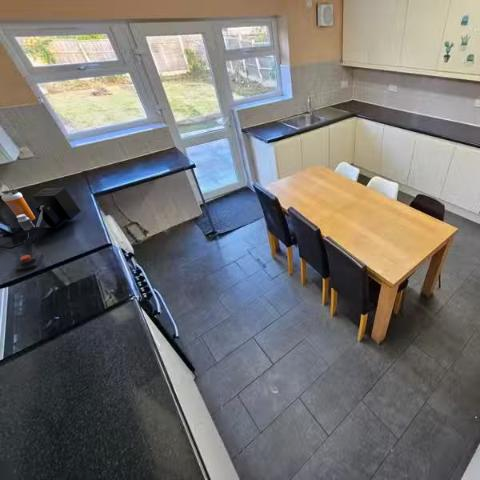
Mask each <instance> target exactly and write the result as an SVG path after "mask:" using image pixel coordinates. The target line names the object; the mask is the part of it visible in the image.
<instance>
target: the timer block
mask: <svg viewBox="0 0 480 480" xmlns="http://www.w3.org/2000/svg"><path fill="white" fill-rule="evenodd" d="M29 255H30V257H31V259H30V260H28V261H25V262H23V261H22V260H21V259H19V260H18V266H17V267H16V268H15V271H16V272H21V271H27V270H30V269H36V268H38V267H39V265H40V264H41V263H42V261H43V260H44V257H45V256H44V255H43V254H42V253H37V254H29Z"/></svg>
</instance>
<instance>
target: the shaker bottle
mask: <svg viewBox="0 0 480 480" xmlns="http://www.w3.org/2000/svg"><path fill="white" fill-rule="evenodd" d="M1 194H2V195H1V200H2V201H3V202H4V204H6V205H7V206H8V208H9V209H10V210H11V211H12V213H13V214H14V215H15V216H18V215H22V214H25V215H26V217H28V218H29V219H30V220H31V222H33V221H34V220H35V219H36V217H35V215H34V213H33V211H32V210H31V208H30V207H29V204H28V203H27V201H26V200H25V198H24V197H23V194H22V192H19V191H18V190H16V189H14V190H4V191H1Z"/></svg>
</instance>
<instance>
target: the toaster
mask: <svg viewBox="0 0 480 480" xmlns="http://www.w3.org/2000/svg"><path fill="white" fill-rule="evenodd" d="M32 199H34V201H35V202H36V203H37V204H38V205H40V204H42V205H43V206H45V205H46V204H49V206H50V207H51V208H52V209H53V211H54V212H55V213H56V215H57V216H58V217H59V219H62V218H67V221H69V220H70V221H71V220H73V219H74V218H75V217H77V215H79V213H81V211H82V210H81V209H80V207H79V206H78V204H77V203H76V202H75V200H74V199H73V198H72V196H71V194H70V193H69V191H68V190H67V189H66V187H51V188H50V187H49V188H47V187H46V188H43V189H41V190H40V191H38V192H37V193H35V194H33V195H32Z"/></svg>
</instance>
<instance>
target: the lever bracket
mask: <svg viewBox="0 0 480 480" xmlns="http://www.w3.org/2000/svg"><path fill="white" fill-rule="evenodd" d="M40 206H43V205H42V204H40V205H39V204H38V205H37V206H36V207H34V209H35V211H36V212H37V213H38V215H40V212H41V210H39V209H40ZM42 209H43V210H44V214H43V217H42V220H43V221H44V223H46V224H45V225H44V226H43V227H44V228H43V229H42V230H57V229H59V228H60V227H62V225H64V224H65V223H66V222H67V221H68V220H67V218H62V219H59V217H58V216H57V215H56V213H55V212H54V211H53V209H52V208H51V207H50V206H49V204H46V205H45V206H43V207H42Z"/></svg>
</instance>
